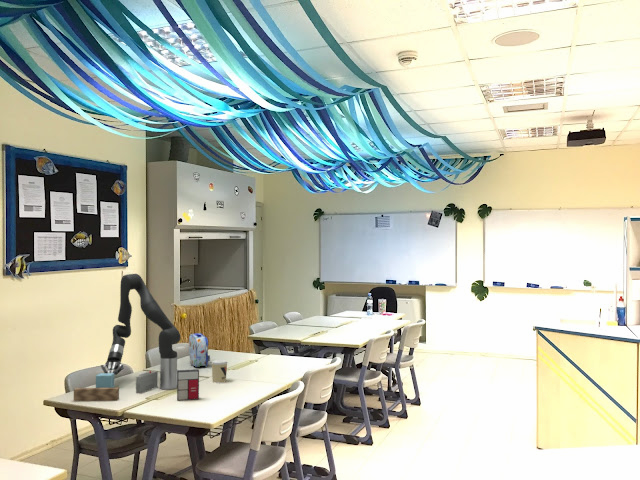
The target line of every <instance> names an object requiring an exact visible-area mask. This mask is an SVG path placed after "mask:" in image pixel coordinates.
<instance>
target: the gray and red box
mask: <svg viewBox="0 0 640 480" xmlns="http://www.w3.org/2000/svg"><path fill="white" fill-rule="evenodd" d="M177 370H178V371H177V388H176V392H177V393H176V400H177V401H188V400H189V401H192V400H194V401H195V400H199V399H200V392H199V391H200V369H198V368H195V369H177Z"/></svg>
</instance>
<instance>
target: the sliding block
mask: <svg viewBox="0 0 640 480" xmlns="http://www.w3.org/2000/svg"><path fill="white" fill-rule="evenodd" d="M95 388H115V375H114V373H104V372H102V373H98V374H97V375H95Z"/></svg>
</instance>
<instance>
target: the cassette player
mask: <svg viewBox="0 0 640 480" xmlns="http://www.w3.org/2000/svg"><path fill="white" fill-rule="evenodd" d="M158 373H159V371H158V370H148V371H146V372H142V373H139V374H138V376H137V375H136V377H135V378H136V379H135V382H136V383H135V384H136V385H135V393H136V394H143V393H145V391H146V392H147V391H148V392H149V391H150V390H152V389H156V388H158V375H159V374H158Z"/></svg>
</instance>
